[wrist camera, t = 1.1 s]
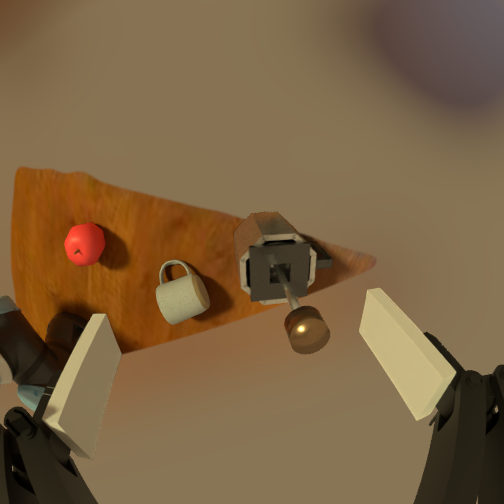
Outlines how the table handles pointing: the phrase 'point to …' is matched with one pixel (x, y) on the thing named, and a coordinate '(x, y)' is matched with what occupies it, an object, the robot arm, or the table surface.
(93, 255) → the apple
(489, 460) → the robot arm
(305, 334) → the plunger
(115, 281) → the table surface
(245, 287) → the carafe
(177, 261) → the ceramic mug
